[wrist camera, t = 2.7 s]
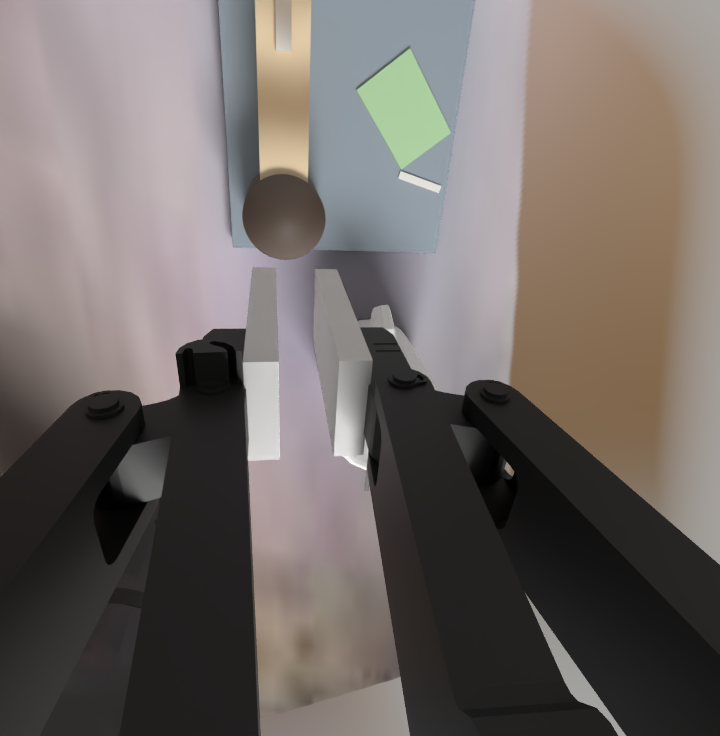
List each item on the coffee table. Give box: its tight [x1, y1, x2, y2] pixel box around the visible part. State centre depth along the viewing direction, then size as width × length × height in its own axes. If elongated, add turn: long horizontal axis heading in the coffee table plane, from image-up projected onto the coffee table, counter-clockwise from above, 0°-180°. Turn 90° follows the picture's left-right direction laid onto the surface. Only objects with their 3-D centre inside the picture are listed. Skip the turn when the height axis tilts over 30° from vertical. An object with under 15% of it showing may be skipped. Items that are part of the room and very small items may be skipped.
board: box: [218, 0, 475, 253], centre depth 31 cm, size 15×16×1 cm
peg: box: [242, 0, 326, 260], centre depth 28 cm, size 14×5×4 cm, turn 175°
